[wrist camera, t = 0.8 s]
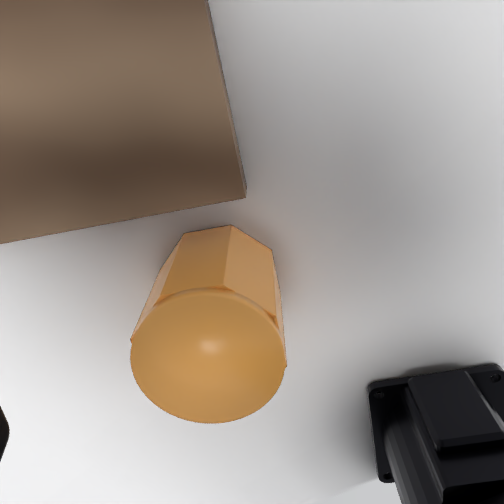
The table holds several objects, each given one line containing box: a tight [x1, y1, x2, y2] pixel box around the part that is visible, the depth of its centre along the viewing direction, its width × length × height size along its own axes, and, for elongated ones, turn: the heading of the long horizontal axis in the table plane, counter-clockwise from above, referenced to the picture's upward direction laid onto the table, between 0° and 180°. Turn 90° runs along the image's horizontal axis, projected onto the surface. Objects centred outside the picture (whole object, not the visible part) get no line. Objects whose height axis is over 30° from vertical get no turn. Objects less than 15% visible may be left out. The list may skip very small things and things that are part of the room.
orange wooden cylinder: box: [130, 225, 287, 423], centre depth 18 cm, size 5×5×6 cm
